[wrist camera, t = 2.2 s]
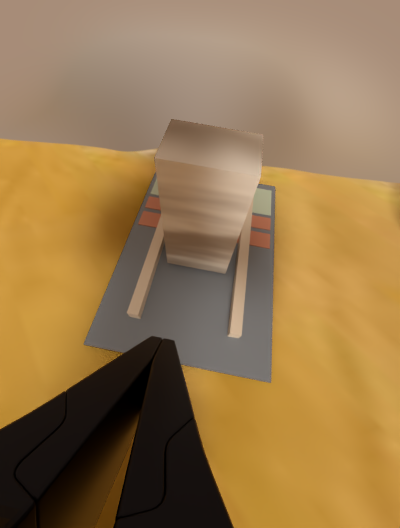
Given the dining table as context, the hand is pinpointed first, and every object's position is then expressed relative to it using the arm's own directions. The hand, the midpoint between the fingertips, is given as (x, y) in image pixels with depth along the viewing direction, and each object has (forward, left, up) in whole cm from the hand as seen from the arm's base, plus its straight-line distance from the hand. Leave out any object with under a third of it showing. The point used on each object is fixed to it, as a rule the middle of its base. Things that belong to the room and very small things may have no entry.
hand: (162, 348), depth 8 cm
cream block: (+8, +8, -12) cm, 17 cm away
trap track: (+8, +8, -12) cm, 17 cm away
